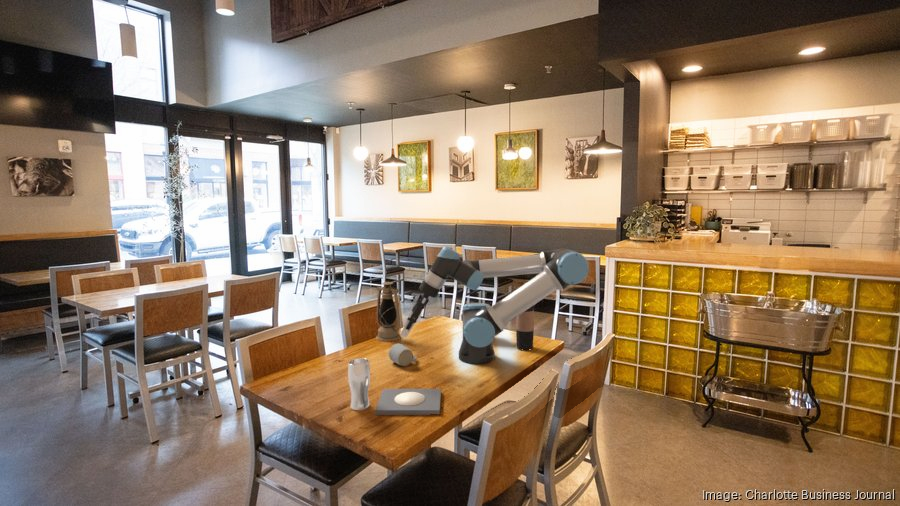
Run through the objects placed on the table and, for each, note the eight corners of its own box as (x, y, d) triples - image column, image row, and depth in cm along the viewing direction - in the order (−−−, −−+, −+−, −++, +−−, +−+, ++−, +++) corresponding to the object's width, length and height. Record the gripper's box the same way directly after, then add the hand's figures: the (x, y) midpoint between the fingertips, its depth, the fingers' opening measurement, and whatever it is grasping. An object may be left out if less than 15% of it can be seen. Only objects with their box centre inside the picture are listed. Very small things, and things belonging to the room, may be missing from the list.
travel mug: (522, 352, 201) (523, 307, 198) (512, 347, 208) (513, 303, 205) (536, 349, 204) (537, 305, 202) (526, 344, 211) (527, 301, 209)
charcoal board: (440, 392, 160) (440, 388, 159) (439, 414, 144) (439, 409, 144) (383, 393, 160) (383, 388, 160) (375, 414, 144) (375, 409, 144)
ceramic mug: (399, 369, 182) (399, 350, 181) (388, 363, 188) (388, 344, 188) (421, 363, 189) (421, 345, 188) (410, 357, 195) (410, 340, 194)
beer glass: (350, 401, 153) (349, 358, 151) (371, 401, 154) (370, 357, 152) (347, 411, 146) (346, 366, 144) (369, 410, 147) (368, 365, 145)
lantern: (408, 337, 223) (407, 275, 219) (391, 343, 213) (389, 279, 210) (386, 332, 231) (384, 273, 228) (368, 338, 222) (367, 276, 218)
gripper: (424, 275, 189) (399, 319, 190) (422, 284, 164) (392, 335, 165) (440, 284, 189) (414, 328, 191) (440, 295, 164) (410, 345, 166)
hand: (404, 331), depth 178 cm, fingers open, 13 cm apart
